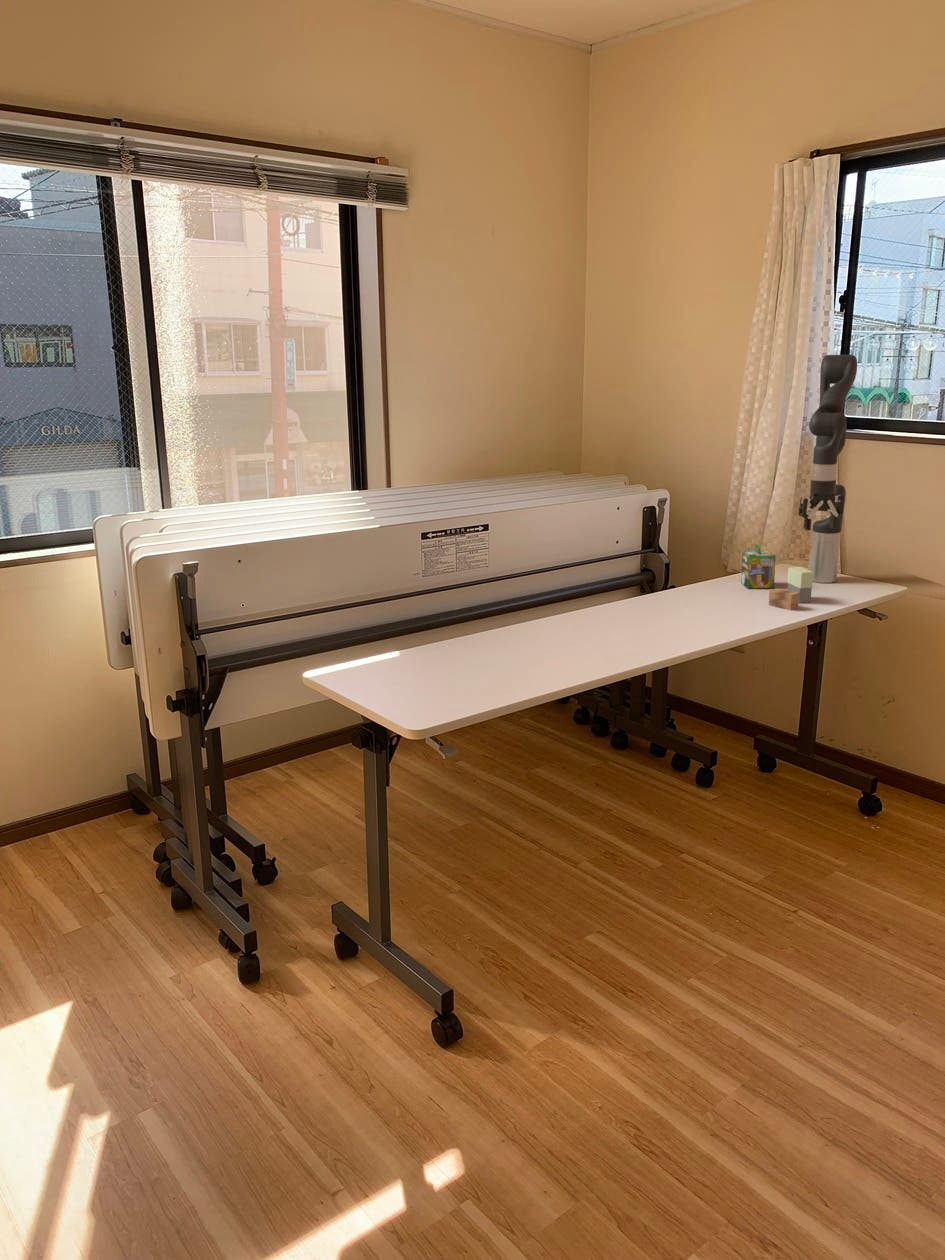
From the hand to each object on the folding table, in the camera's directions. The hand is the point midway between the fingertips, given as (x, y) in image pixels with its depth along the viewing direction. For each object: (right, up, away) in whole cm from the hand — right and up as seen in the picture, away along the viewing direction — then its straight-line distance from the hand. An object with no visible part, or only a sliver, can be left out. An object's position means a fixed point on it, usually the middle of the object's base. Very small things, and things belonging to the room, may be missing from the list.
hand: (819, 529), depth 310 cm
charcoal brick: (-5, -22, +5) cm, 23 cm away
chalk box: (-13, -17, +24) cm, 32 cm away
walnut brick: (-12, -25, -2) cm, 28 cm away
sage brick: (-5, -17, +4) cm, 19 cm away
